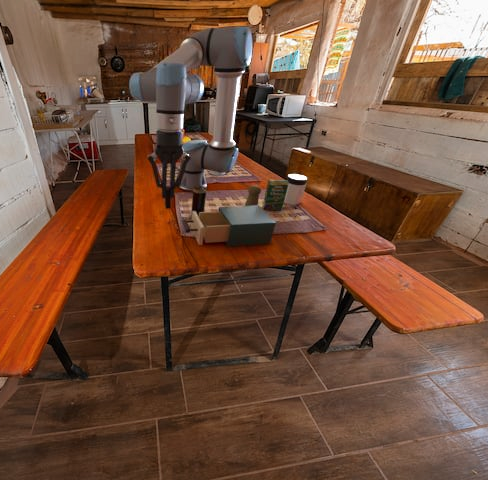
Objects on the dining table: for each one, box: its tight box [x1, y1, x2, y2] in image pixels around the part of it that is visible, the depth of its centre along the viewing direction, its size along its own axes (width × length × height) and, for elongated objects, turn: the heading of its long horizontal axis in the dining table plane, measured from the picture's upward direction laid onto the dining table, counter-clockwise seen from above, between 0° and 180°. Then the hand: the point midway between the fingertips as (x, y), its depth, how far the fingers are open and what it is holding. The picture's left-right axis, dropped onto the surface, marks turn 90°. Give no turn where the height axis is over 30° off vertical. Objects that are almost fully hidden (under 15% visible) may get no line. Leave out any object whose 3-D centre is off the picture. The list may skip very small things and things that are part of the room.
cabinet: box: [218, 204, 277, 247], centre depth 92 cm, size 16×14×9 cm
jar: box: [283, 173, 308, 206], centre depth 118 cm, size 9×8×12 cm
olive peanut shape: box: [244, 184, 262, 206], centre depth 110 cm, size 6×6×11 cm
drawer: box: [181, 210, 230, 246], centre depth 91 cm, size 19×12×7 cm, turn 98°
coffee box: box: [262, 179, 289, 212], centre depth 111 cm, size 8×3×13 cm, turn 81°
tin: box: [190, 186, 208, 218], centre depth 103 cm, size 5×5×12 cm
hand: (167, 206), depth 84 cm, fingers closed
